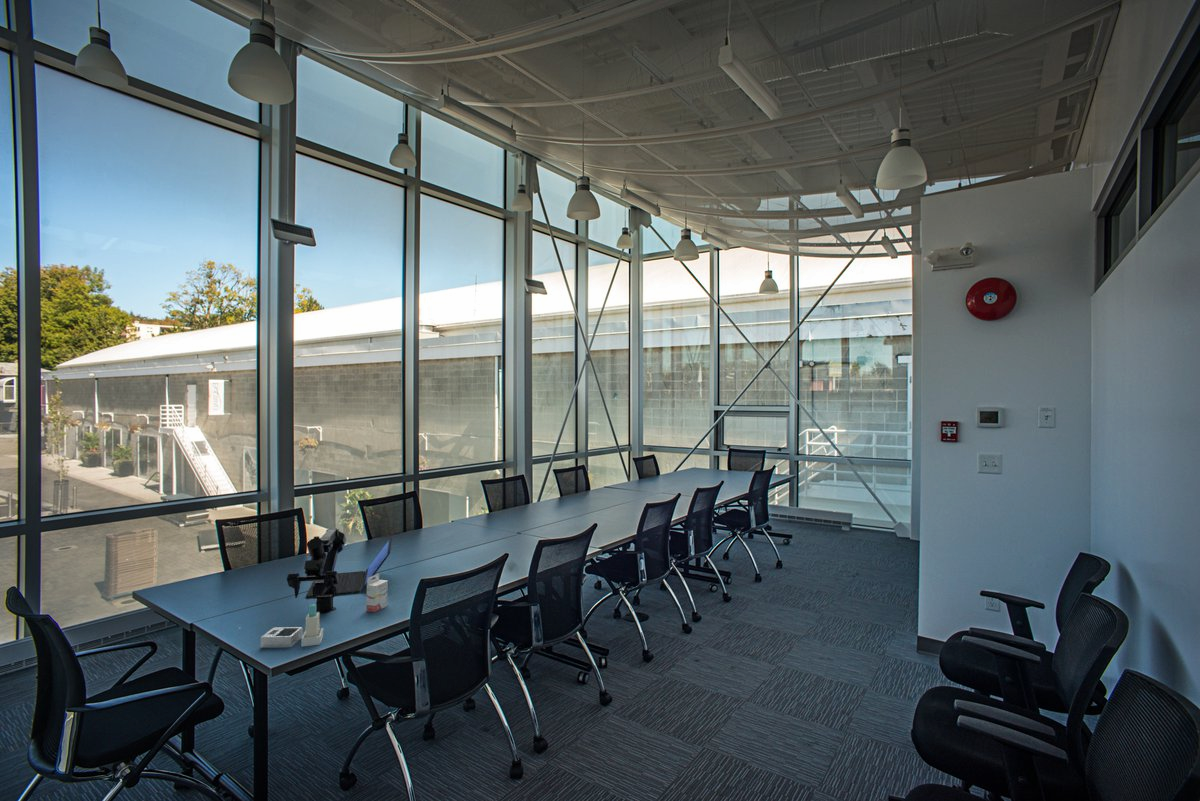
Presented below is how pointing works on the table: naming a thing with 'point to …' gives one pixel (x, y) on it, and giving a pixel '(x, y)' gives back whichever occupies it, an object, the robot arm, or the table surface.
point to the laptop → (358, 575)
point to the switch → (281, 637)
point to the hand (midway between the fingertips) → (308, 596)
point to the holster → (312, 639)
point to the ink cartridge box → (376, 593)
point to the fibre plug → (312, 622)
